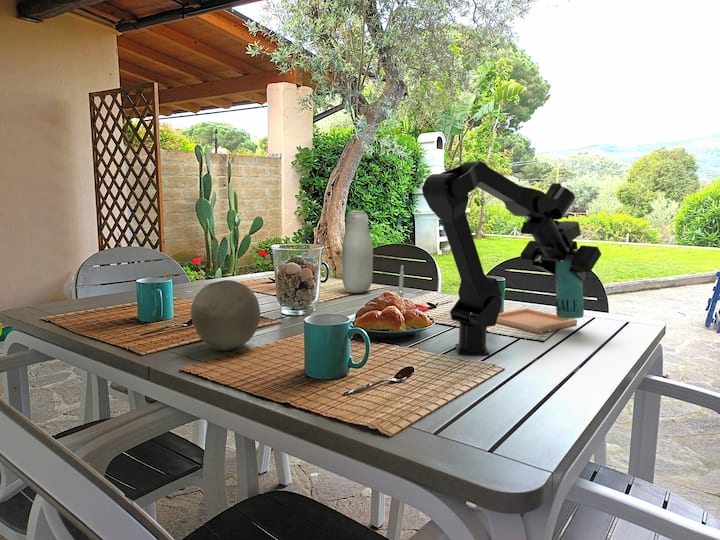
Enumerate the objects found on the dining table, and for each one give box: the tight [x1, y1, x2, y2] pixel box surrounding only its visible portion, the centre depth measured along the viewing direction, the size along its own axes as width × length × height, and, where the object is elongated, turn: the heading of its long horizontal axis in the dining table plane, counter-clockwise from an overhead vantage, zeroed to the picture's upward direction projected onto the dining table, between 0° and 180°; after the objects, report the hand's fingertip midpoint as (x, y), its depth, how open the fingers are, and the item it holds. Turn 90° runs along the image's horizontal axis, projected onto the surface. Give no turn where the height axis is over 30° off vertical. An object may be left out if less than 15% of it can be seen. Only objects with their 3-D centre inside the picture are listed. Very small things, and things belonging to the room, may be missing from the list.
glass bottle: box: [341, 209, 374, 294], centre depth 175 cm, size 10×10×28 cm
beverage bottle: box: [554, 240, 585, 319], centre depth 127 cm, size 6×7×20 cm
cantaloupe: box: [190, 279, 261, 352], centre depth 110 cm, size 14×14×15 cm
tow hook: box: [397, 264, 429, 313], centre depth 151 cm, size 8×13×9 cm
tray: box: [496, 307, 578, 334], centre depth 137 cm, size 16×16×2 cm
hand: (571, 278), depth 128 cm, fingers closed on beverage bottle, 6 cm apart
